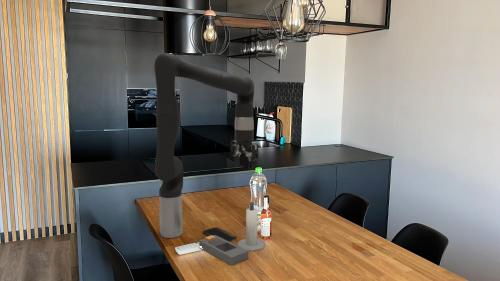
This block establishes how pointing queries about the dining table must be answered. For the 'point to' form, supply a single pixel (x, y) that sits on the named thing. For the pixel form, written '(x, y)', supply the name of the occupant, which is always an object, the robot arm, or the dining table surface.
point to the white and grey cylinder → (251, 225)
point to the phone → (219, 234)
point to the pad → (257, 247)
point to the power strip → (223, 249)
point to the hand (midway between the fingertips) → (244, 167)
